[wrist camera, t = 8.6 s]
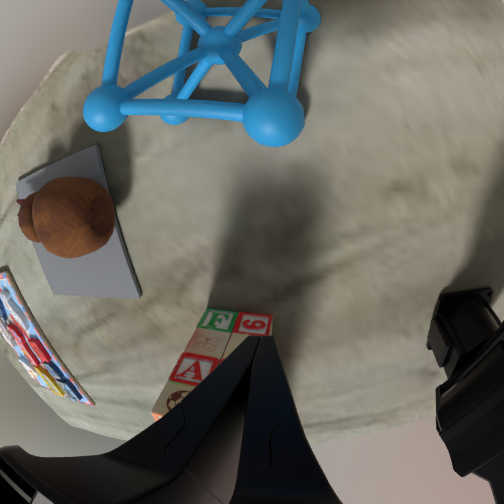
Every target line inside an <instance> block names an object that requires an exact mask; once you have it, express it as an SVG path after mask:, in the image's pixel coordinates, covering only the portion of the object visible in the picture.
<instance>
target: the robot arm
mask: <svg viewBox="0 0 504 504" xmlns="http://www.w3.org/2000/svg"><path fill="white" fill-rule="evenodd" d="M492 294H493V290H492V289H491V288H490V287H488V288H482V289H475V290H468V291H461V292H454V293H447V294H442V295H441V296H440V297H439V298H438V302H437V307H436V311H435V315H434V317H433V318H432V322H431V326H430V330H429V333H428V341H427V344H426V346H427V349H428V350H433V353H434V355H435V358H436V361H437V363H438V366H439V367H440V368H441V367H444V370H445V373H446V375H447V378H448V379H447V380H446V381H445V382H444V383H443V384H442V385H439V386H438V387H437V388H436V429H437V431H438V432H439V435H440V436H441V438H442V440H443V441H444V443H445V445H446V447H447V449H448V451H449V454H450V457H451V461H452V465H453V469H454V471H455V472H456V473H457V474H458V475H460V476H461V477H464V476H466V475H468V474H470V473H473V474H475V475H477V476H478V477H480V478H482V479H484V480H486V481H488V482H489V484H490V486H491V489H492V493H493V496H494V500H495V503H496V504H504V320H503V322H502V323H501V321H500V320H499V318H498V317H497V315H496V314H495V312H494V311H493V310H492V308H491V307H490V305H489V304H490V301H491V298H492ZM443 299H445V300H443ZM442 300H443V301H442ZM0 504H343V503H342V502H341V501H340V499H339V498H338V496H337V495H336V493H335V492H334V490H333V489H332V487H331V485H330V484H329V482H328V480H327V478H326V476H325V474H324V472H323V470H322V468H321V467H320V465H319V463H318V461H317V459H316V457H315V455H314V453H313V451H312V449H311V447H310V445H309V443H308V440H307V438H306V436H305V433H304V430H303V428H302V425H301V422H300V419H299V415H298V413H297V409H296V406H295V402H294V399H293V396H292V393H291V389H290V386H289V383H288V379H287V376H286V373H285V369H284V366H283V363H282V359H281V356H280V353H279V349H278V346H277V343H276V339H275V337H274V336H273V335H263V336H262V337H261V336H260V335H249V336H247V337H246V338H245V339H244V340H243V341H242V342H241V343H240V344H239V345H238V346H237V347H236V348H235V349H234V350H233V351H232V352H231V353H230V354H229V355H228V356H227V357H226V358H225V359H224V360H223V361H222V362H221V363H220V364H219V365H218V366H217V367H216V368H215V369H214V370H213V371H212V372H211V373H210V374H209V375H208V376H207V377H205V378H204V379H203V380H202V381H201V382H200V383H199V384H198V385H197V386H196V387H195V388H194V389H193V390H192V391H191V392H189V393H188V394H187V395H186V396H185V397H184V398H183V399H182V400H181V403H180V402H178V403H177V404H176V405H175V406H174V407H173V408H172V409H171V410H169V411H168V412H167V413H166V414H165V415H164V416H162V417H161V418H160V419H159V420H157V421H156V422H155V423H153V424H152V425H151V426H149V427H148V428H146V429H145V430H143V431H142V432H141V433H139V434H138V435H136V436H135V437H133V438H132V439H130V440H129V441H127V442H126V443H124V444H122V445H121V446H119V447H118V448H116V449H114V450H112V451H110V452H107V453H104V454H100V455H92V456H77V457H38V456H34V455H31V454H29V453H27V452H26V451H25V450H23V449H22V448H21V447H20V446H17V445H14V446H4V447H1V448H0Z"/></svg>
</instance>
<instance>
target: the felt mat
mask: <svg viewBox="0 0 504 504" xmlns="http://www.w3.org/2000/svg"><path fill="white" fill-rule="evenodd" d="M69 176H71V177H85V178H90V179H93V180H95V181H96V182H98V183H99V184H101V185H102V186H103V187H105V188H106V189H107V191H108V193H109V189H108V185H107V180H106V176H105V172H104V167H103V163H102V158H101V153H100V148H99V144H96V145H93V146H91V147H88V148H86V149H83V150H81V151H79V152H76V153H74V154H72V155H70V156H68V157H65V158H63V159H61V160H59V161H57V162H55V163H53V164H51V165H49V166H47V167H45V168H43V169H41V170H39V171H37V172H35V173H33V174H31V175H29V176H27V177H26V178H24V179H22V180H20V181H18V182H17V183H15V184H16V188H17V192H18V196H19V199H26V197H27V196H28V195H30V194H32V193H34V192H37V191H39V190H40V188H41V187H42V186H43V185H44V184H45V183H47V182H48V181H51V180H53V179H55V178H59V177H69ZM109 194H110V193H109ZM32 242H33V241H32ZM33 245H34V248H35V251H36V253H37V256H38V259H39V261H40V264H41V266H42V269H43V271H44V274H45V276H46V278H47V281H48V283H49V285H50V287H51V290H52V292H53V294H56V295H73V296H94V297H122V298H140V297H141V296H142V293H141V291H140V288H139V285H138V283H137V280H136V277H135V274H134V272H133V269H132V266H131V263H130V260H129V257H128V254H127V251H126V248H125V245H124V242H123V238H122V235H121V232H120V229H119V225H118V222H117V218H116V215H115V227H114V231H113V234H112V236H111V238H110V239H109V241H108V242H107V244H106V245H104V246H103V247H101V248H100V249H98V250H97V251H95V252H93V253H90V254H87V255H84V256H81V257H77V258H71V259H70V258H62V257H59V256H56V255H54V254H52V253H50V252H48V251H47V250H46V249H45V247H44V246H43V245H42V243H36V242H33Z"/></svg>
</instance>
